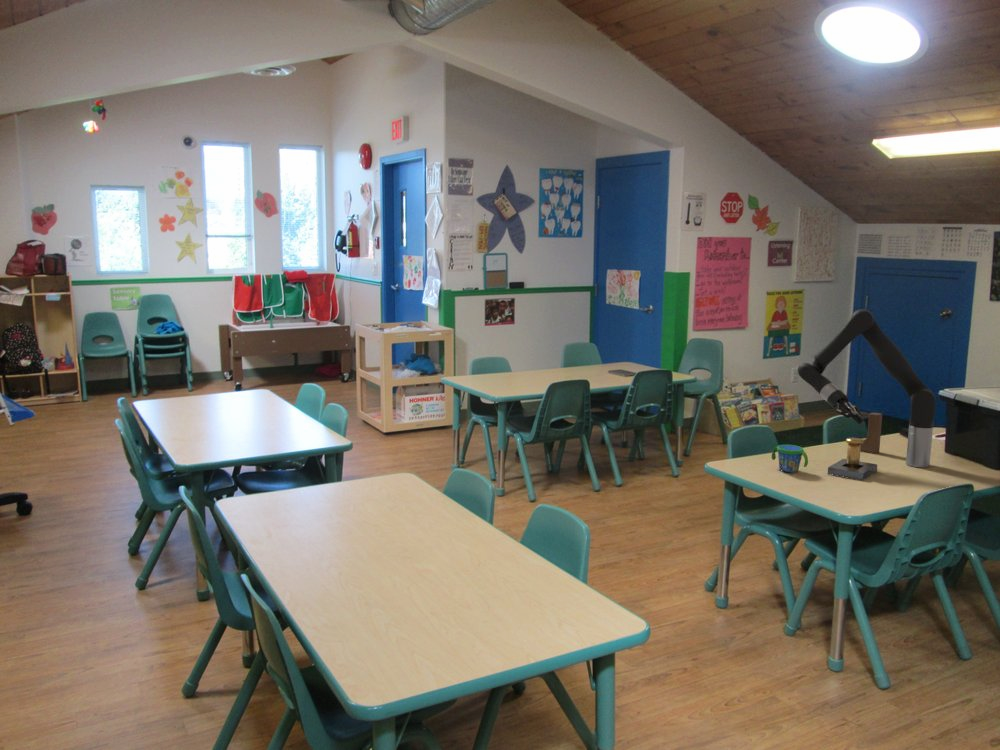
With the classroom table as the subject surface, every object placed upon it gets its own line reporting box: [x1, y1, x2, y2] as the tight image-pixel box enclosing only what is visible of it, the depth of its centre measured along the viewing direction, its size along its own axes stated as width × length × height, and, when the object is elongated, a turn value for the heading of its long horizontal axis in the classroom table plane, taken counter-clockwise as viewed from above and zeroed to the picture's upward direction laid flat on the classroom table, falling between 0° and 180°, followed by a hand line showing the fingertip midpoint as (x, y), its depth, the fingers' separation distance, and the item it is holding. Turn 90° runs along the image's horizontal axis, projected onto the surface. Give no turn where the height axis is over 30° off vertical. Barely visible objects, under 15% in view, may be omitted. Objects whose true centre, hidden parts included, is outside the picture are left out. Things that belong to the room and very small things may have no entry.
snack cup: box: [771, 444, 809, 473], centre depth 354 cm, size 16×10×10 cm
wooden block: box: [860, 412, 883, 455], centre depth 386 cm, size 9×4×18 cm, turn 47°
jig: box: [827, 458, 878, 481], centre depth 352 cm, size 18×14×3 cm
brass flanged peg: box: [845, 437, 863, 469], centre depth 351 cm, size 7×7×14 cm
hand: (861, 422), depth 354 cm, fingers closed
